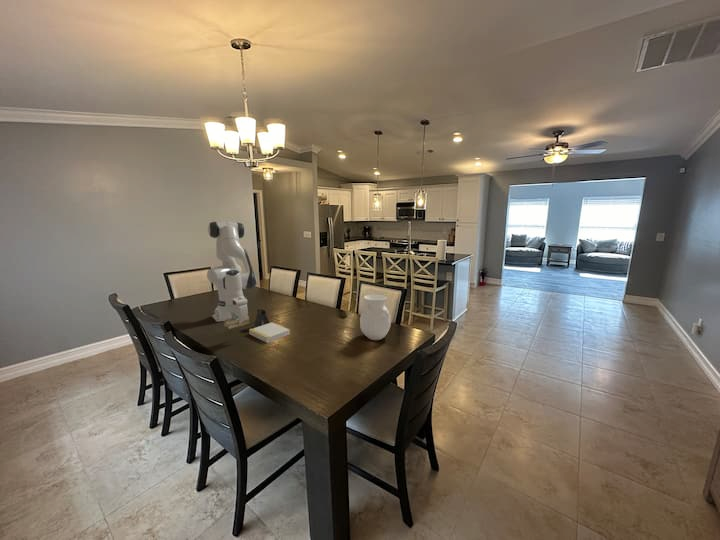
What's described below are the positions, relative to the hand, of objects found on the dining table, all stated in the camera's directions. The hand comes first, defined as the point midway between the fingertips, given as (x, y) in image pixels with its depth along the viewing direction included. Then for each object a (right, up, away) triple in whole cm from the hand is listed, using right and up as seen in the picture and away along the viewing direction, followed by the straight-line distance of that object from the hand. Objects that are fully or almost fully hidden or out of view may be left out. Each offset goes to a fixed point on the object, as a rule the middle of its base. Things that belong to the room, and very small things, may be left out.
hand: (237, 321), depth 166 cm
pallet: (0, -2, 0) cm, 2 cm away
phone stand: (+6, -8, +24) cm, 27 cm away
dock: (+15, -10, +12) cm, 22 cm away
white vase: (+81, -11, +6) cm, 82 cm away
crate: (0, +2, 0) cm, 2 cm away
